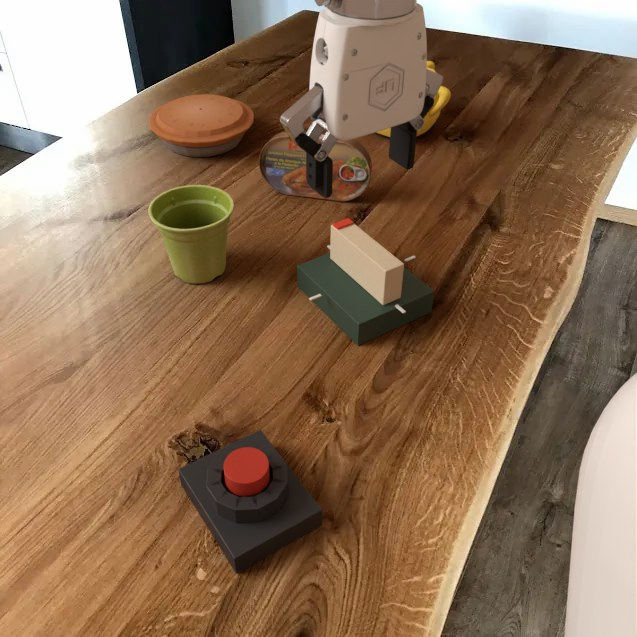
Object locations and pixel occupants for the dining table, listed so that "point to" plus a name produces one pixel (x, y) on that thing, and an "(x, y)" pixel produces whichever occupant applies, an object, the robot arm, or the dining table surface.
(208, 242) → the plant pot
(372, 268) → the beige rectangular block
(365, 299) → the dial base
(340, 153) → the tin
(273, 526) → the control block
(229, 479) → the button
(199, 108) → the pie
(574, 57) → the dining table surface
